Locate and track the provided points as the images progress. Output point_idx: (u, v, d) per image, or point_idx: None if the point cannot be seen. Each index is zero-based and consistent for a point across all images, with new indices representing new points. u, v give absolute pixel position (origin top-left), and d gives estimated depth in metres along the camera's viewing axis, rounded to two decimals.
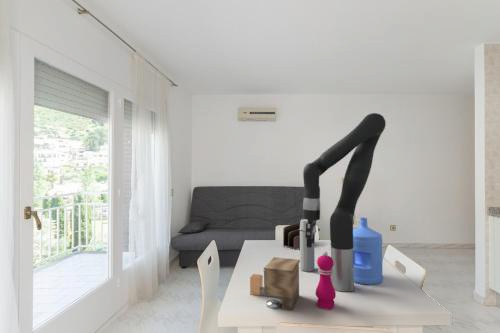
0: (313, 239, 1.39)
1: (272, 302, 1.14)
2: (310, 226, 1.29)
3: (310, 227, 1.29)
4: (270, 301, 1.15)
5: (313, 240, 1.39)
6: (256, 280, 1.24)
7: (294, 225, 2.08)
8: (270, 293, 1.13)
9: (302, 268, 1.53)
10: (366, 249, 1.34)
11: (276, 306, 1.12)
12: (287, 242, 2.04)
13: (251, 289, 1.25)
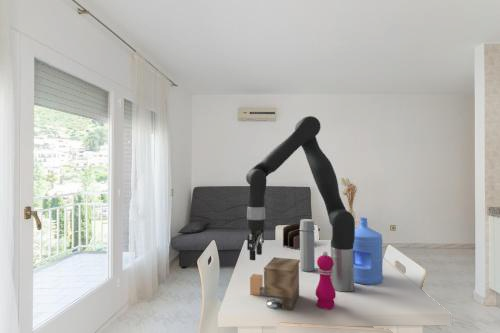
0: (260, 250, 1.30)
1: (272, 302, 1.14)
2: (252, 238, 1.20)
3: (252, 238, 1.20)
4: (270, 301, 1.15)
5: (260, 251, 1.30)
6: (256, 280, 1.24)
7: (294, 225, 2.08)
8: (270, 293, 1.13)
9: (302, 268, 1.53)
10: (366, 249, 1.34)
11: (276, 306, 1.12)
12: (287, 242, 2.04)
13: (251, 289, 1.25)
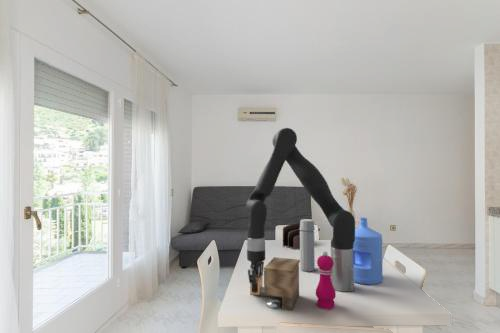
0: None
1: (272, 302, 1.14)
2: (253, 273, 1.20)
3: (252, 274, 1.20)
4: (270, 301, 1.15)
5: None
6: None
7: (293, 225, 2.09)
8: (270, 293, 1.13)
9: (302, 268, 1.53)
10: (366, 249, 1.34)
11: (277, 306, 1.12)
12: (286, 242, 2.04)
13: (251, 289, 1.25)
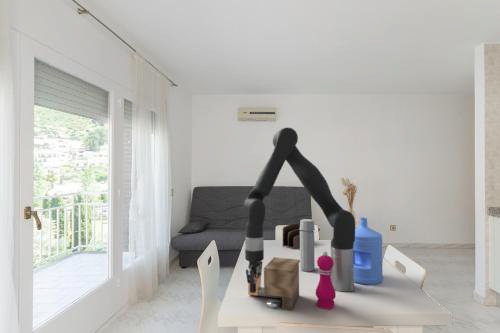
0: None
1: (272, 302, 1.14)
2: (251, 273, 1.18)
3: (250, 274, 1.18)
4: (270, 301, 1.15)
5: None
6: None
7: (293, 225, 2.09)
8: (270, 293, 1.13)
9: (302, 268, 1.53)
10: (366, 249, 1.34)
11: (277, 305, 1.13)
12: (286, 242, 2.04)
13: (249, 289, 1.23)
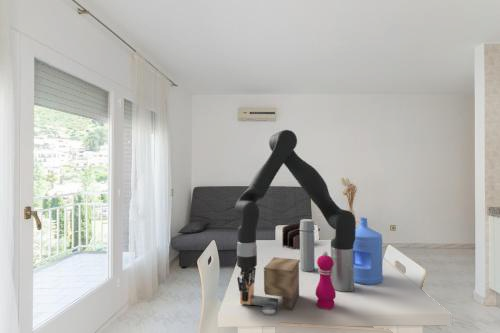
0: None
1: (268, 308, 1.09)
2: (243, 281, 1.10)
3: (242, 282, 1.10)
4: (266, 307, 1.09)
5: None
6: None
7: (292, 225, 2.09)
8: (270, 293, 1.13)
9: (302, 268, 1.53)
10: (366, 249, 1.34)
11: (274, 311, 1.07)
12: (286, 242, 2.05)
13: (241, 298, 1.15)
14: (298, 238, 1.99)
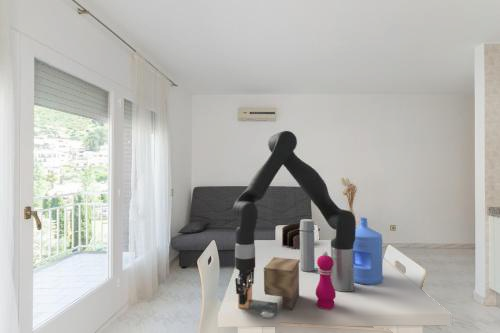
0: None
1: (266, 311, 1.07)
2: (241, 282, 1.07)
3: (240, 283, 1.07)
4: (264, 311, 1.07)
5: None
6: None
7: (292, 225, 2.09)
8: (270, 293, 1.13)
9: (302, 268, 1.53)
10: (366, 249, 1.34)
11: (273, 315, 1.05)
12: (286, 242, 2.05)
13: None
14: (298, 238, 1.99)
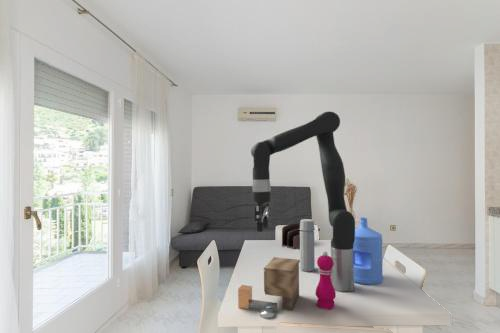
0: (266, 223, 1.31)
1: (266, 311, 1.07)
2: (259, 209, 1.21)
3: (259, 209, 1.21)
4: (264, 311, 1.07)
5: (266, 224, 1.31)
6: (244, 292, 1.12)
7: (292, 225, 2.09)
8: (270, 293, 1.13)
9: (302, 268, 1.53)
10: (366, 249, 1.34)
11: (272, 315, 1.05)
12: (285, 242, 2.05)
13: (239, 302, 1.12)
14: (298, 238, 2.00)
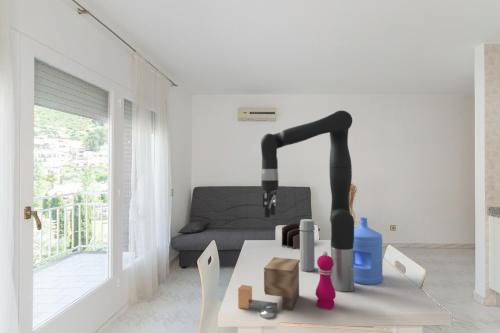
0: (273, 211, 1.39)
1: (266, 311, 1.07)
2: (267, 196, 1.29)
3: (267, 196, 1.29)
4: (264, 311, 1.07)
5: (273, 212, 1.39)
6: (244, 292, 1.12)
7: (291, 225, 2.10)
8: (270, 293, 1.13)
9: (302, 268, 1.53)
10: (366, 249, 1.34)
11: (272, 315, 1.05)
12: (285, 242, 2.05)
13: (239, 302, 1.12)
14: (297, 238, 2.00)
